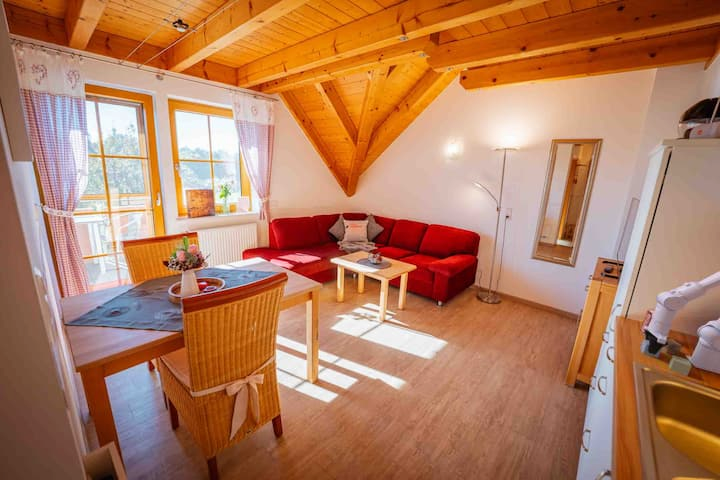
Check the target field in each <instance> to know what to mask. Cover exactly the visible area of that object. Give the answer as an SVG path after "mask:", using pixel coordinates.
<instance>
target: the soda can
mask: <svg viewBox="0 0 720 480" xmlns="http://www.w3.org/2000/svg"><path fill="white" fill-rule="evenodd" d="M655 309H656V308H649V309H648V310H647V311H646V313H645V316H644V319H643V321H642V324H641V327H640V329H639V332H640V334H642V335H643V334H644V336H645V330H644V326H646V327H648V326H649V324H650V322H651V319H652V317H653V314H654V311H655Z"/></svg>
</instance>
